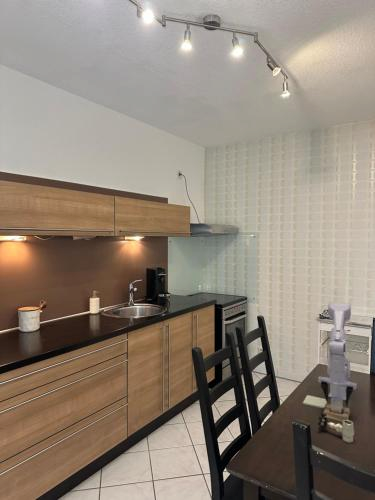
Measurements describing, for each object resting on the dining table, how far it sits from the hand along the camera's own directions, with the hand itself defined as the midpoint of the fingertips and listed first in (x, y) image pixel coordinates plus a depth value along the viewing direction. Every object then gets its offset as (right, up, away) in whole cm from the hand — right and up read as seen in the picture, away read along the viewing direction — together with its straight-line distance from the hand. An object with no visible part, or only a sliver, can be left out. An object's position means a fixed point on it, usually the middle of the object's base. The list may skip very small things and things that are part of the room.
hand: (336, 402), depth 145 cm
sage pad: (-4, -5, +12) cm, 14 cm away
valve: (-7, -6, -16) cm, 18 cm away
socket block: (0, -5, 0) cm, 5 cm away
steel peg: (0, -6, 0) cm, 6 cm away
